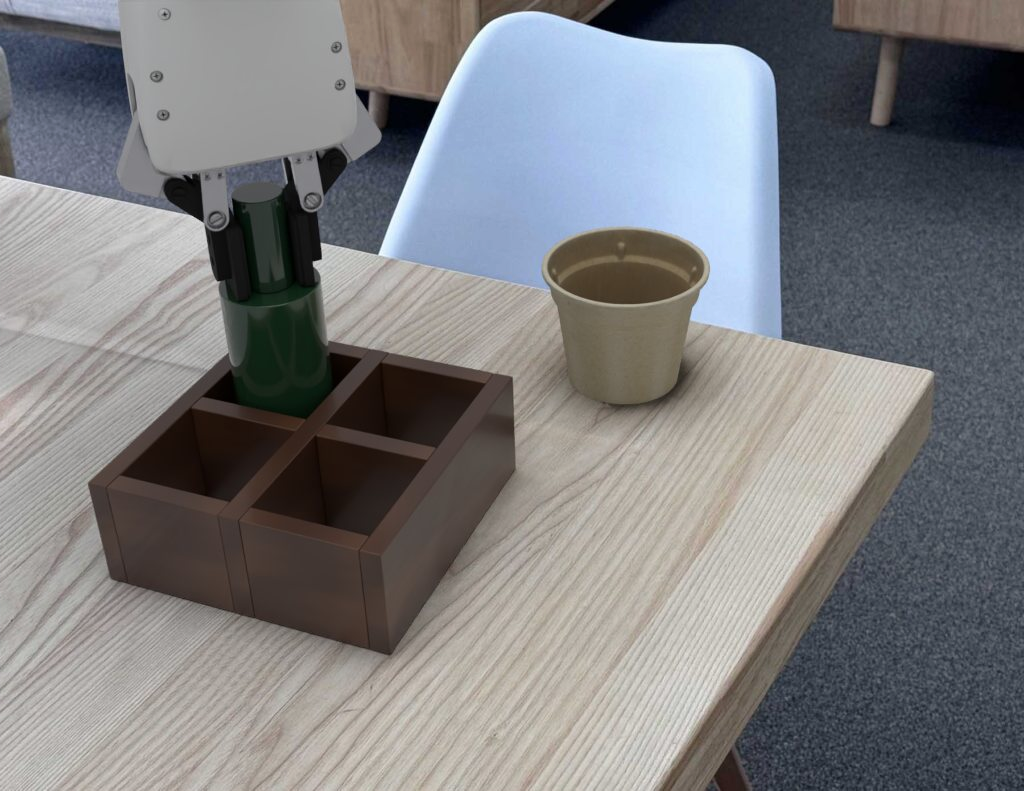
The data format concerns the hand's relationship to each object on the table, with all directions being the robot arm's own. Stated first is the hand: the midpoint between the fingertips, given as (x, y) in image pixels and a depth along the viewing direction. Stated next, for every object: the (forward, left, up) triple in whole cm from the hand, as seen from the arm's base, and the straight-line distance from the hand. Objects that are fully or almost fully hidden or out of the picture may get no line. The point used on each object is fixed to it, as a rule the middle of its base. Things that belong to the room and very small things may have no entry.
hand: (269, 278), depth 71 cm
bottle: (0, 0, -11) cm, 11 cm away
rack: (+4, -4, -12) cm, 13 cm away
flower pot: (+15, +13, -12) cm, 23 cm away
